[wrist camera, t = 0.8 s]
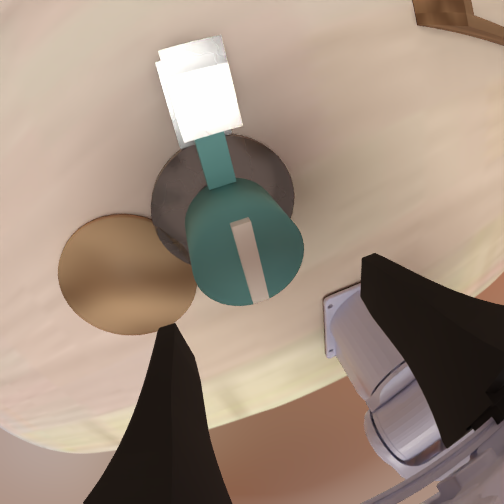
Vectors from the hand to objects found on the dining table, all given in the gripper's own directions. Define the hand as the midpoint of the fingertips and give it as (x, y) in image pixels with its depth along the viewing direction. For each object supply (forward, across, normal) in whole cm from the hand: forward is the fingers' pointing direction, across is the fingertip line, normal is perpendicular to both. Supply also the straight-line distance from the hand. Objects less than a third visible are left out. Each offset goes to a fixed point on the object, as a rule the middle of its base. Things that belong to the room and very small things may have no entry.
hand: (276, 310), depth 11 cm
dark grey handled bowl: (+10, 0, -2) cm, 10 cm away
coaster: (+10, +8, +3) cm, 13 cm away
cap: (+7, 0, -2) cm, 8 cm away
